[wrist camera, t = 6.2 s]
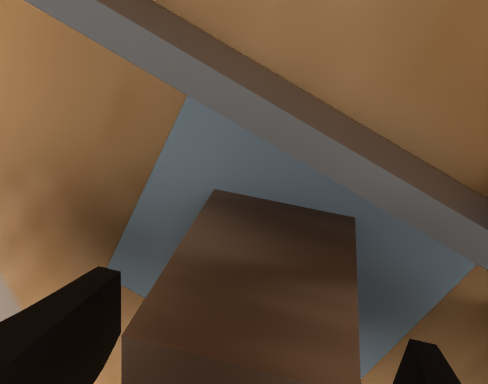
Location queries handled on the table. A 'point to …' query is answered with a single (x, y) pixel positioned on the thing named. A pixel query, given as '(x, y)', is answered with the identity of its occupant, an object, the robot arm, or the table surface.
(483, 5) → the table surface
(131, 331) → the walnut block
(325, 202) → the mat
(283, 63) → the table surface
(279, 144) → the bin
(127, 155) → the table surface
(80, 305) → the robot arm
